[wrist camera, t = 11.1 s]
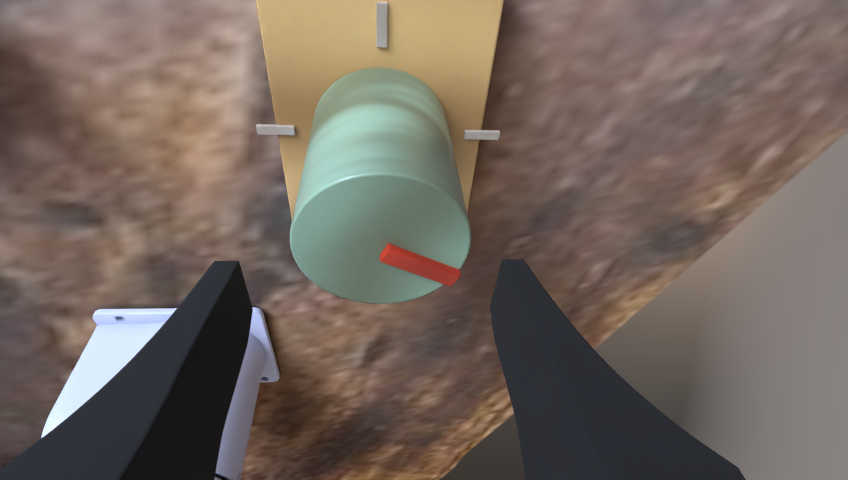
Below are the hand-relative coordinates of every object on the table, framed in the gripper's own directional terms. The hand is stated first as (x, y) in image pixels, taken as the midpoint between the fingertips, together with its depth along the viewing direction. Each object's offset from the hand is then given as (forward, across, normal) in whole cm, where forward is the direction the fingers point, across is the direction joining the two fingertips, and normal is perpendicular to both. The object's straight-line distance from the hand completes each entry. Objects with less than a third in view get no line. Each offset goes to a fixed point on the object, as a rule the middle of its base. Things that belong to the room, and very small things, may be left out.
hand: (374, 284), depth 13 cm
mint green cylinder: (+7, 0, -1) cm, 7 cm away
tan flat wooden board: (+9, 0, -1) cm, 9 cm away
